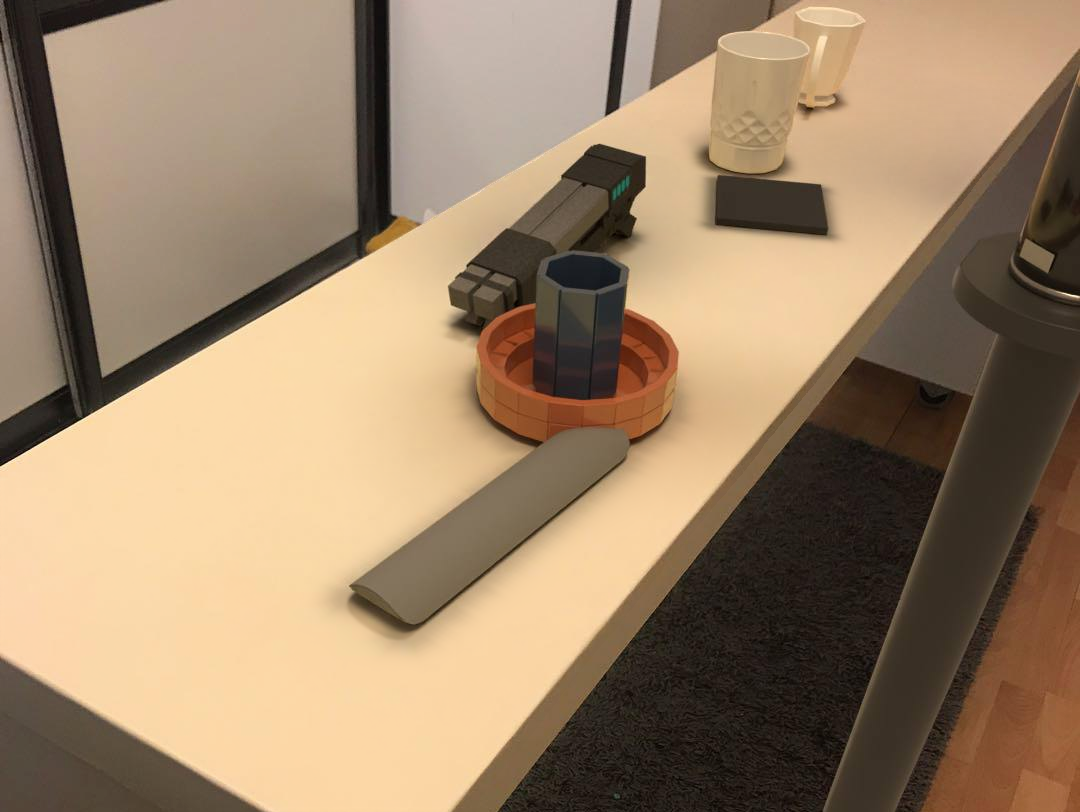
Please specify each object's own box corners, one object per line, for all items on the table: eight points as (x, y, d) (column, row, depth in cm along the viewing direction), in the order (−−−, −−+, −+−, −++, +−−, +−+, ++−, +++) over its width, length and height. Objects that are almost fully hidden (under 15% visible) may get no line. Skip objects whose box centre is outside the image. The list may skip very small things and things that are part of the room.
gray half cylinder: (342, 597, 52) (339, 570, 51) (576, 424, 64) (577, 399, 63) (405, 637, 51) (404, 610, 49) (634, 451, 62) (637, 426, 61)
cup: (850, 93, 113) (869, 11, 107) (840, 125, 106) (859, 38, 100) (784, 84, 114) (799, 2, 109) (770, 114, 107) (785, 28, 102)
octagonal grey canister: (619, 371, 68) (631, 255, 63) (612, 416, 64) (625, 297, 59) (539, 362, 69) (545, 247, 64) (528, 407, 65) (532, 288, 60)
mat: (819, 190, 93) (821, 184, 93) (826, 235, 86) (828, 228, 86) (716, 181, 94) (717, 174, 93) (715, 224, 87) (716, 217, 87)
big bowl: (675, 357, 71) (682, 310, 69) (666, 465, 62) (674, 415, 60) (495, 338, 72) (495, 291, 70) (460, 442, 63) (460, 392, 61)
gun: (654, 228, 85) (646, 120, 76) (521, 405, 77) (496, 306, 69) (605, 213, 86) (592, 106, 78) (470, 384, 79) (440, 286, 70)
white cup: (695, 169, 95) (711, 52, 89) (708, 139, 101) (724, 26, 95) (783, 182, 94) (806, 64, 88) (792, 150, 100) (814, 37, 93)
